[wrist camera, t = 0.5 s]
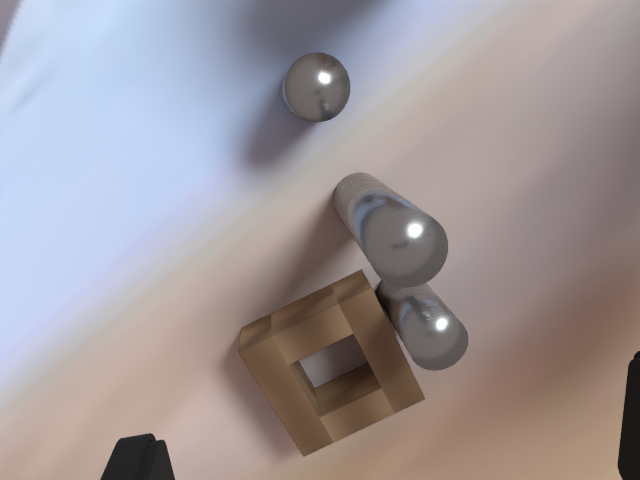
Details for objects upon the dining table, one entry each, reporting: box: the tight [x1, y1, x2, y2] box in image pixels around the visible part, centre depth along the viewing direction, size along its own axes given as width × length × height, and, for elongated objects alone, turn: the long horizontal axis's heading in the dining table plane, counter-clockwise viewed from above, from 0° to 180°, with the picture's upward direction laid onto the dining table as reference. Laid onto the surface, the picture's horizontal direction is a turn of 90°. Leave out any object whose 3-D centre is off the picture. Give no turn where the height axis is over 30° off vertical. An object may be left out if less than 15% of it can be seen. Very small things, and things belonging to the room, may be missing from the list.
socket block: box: [239, 270, 425, 457], centre depth 33 cm, size 10×10×4 cm
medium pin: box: [378, 280, 468, 370], centre depth 30 cm, size 4×4×8 cm
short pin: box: [282, 53, 350, 122], centre depth 27 cm, size 4×4×5 cm
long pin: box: [334, 173, 448, 288], centre depth 26 cm, size 4×4×12 cm
